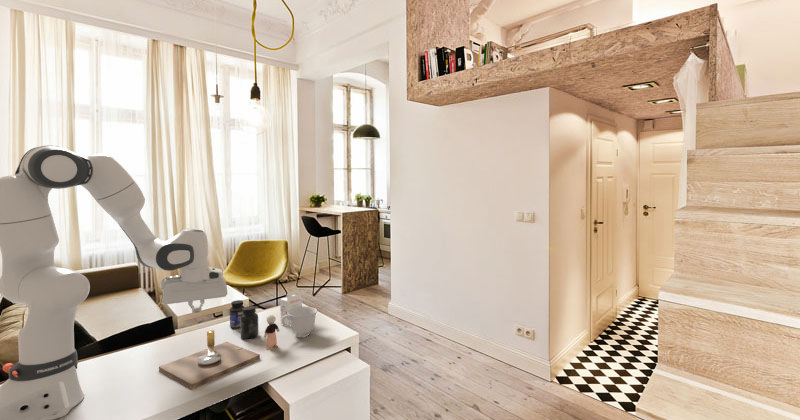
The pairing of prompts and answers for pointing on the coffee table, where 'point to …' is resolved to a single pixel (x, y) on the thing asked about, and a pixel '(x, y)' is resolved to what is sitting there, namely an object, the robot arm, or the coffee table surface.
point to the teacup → (301, 320)
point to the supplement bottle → (249, 323)
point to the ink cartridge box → (290, 304)
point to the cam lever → (209, 351)
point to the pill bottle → (236, 314)
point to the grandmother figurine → (271, 333)
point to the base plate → (197, 375)
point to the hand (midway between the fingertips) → (196, 312)
